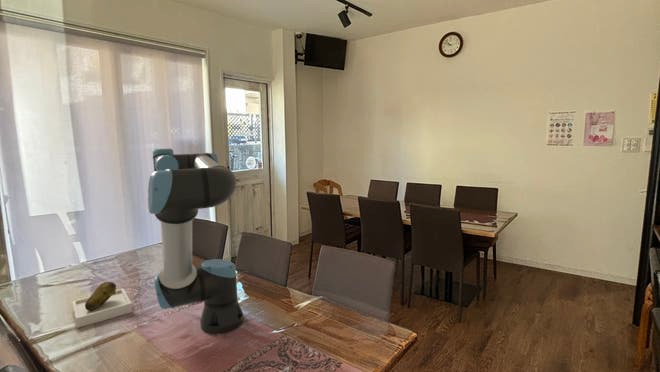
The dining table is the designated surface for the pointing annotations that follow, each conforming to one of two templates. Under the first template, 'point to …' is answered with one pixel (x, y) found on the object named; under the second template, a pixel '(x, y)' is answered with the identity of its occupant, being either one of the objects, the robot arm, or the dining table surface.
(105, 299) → the potato
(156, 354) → the dining table surface
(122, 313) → the rectangular tray
